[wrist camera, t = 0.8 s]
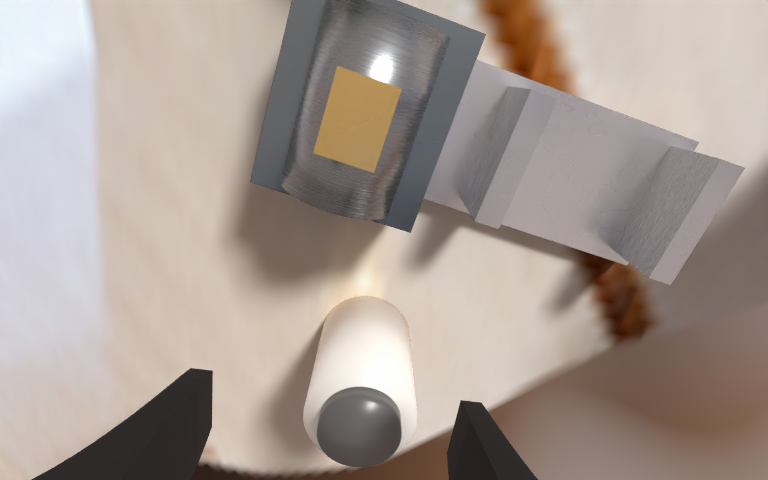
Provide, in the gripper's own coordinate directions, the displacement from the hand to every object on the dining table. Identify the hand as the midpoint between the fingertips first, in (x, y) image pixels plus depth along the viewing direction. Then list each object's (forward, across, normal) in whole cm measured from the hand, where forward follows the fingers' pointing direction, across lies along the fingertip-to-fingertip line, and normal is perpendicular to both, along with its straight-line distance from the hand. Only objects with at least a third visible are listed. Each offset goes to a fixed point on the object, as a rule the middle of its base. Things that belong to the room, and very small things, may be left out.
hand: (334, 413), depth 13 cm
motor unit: (+10, -5, -7) cm, 13 cm away
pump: (+10, -1, +4) cm, 10 cm away
